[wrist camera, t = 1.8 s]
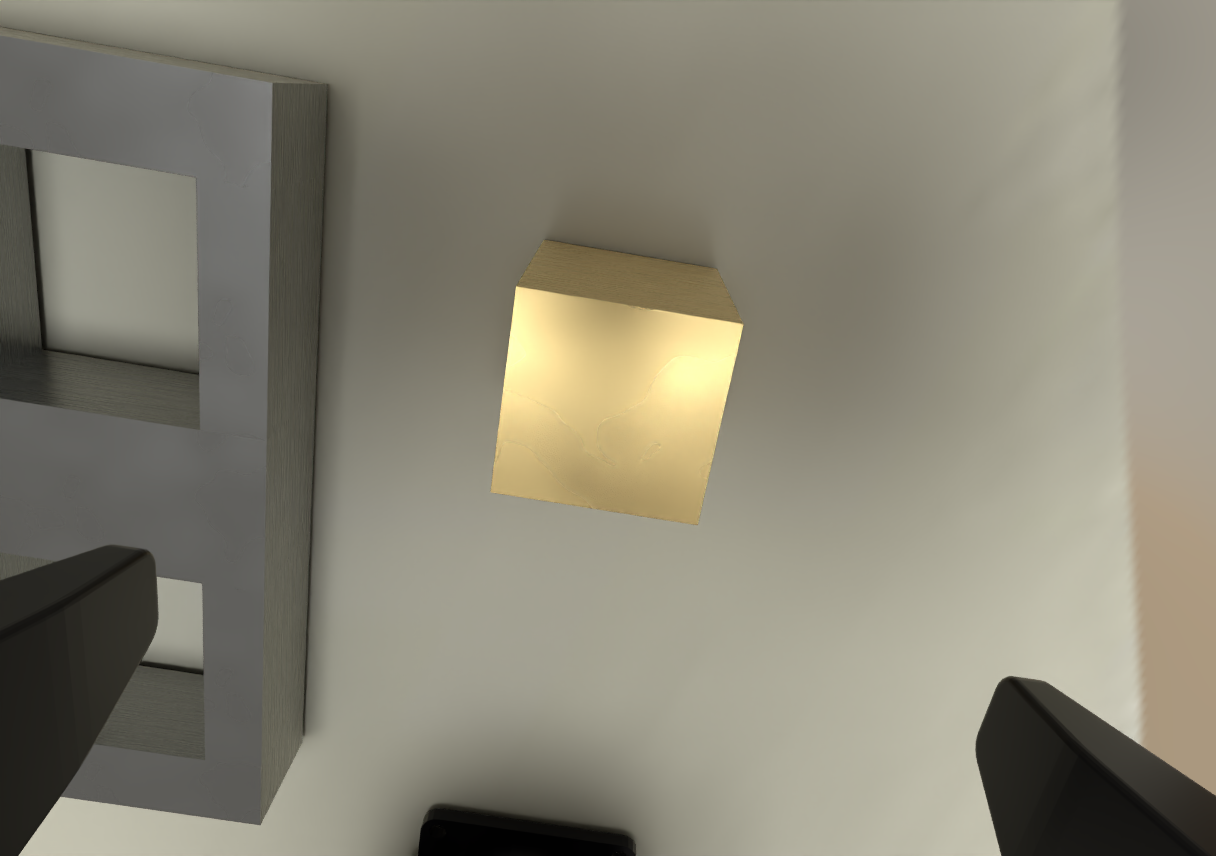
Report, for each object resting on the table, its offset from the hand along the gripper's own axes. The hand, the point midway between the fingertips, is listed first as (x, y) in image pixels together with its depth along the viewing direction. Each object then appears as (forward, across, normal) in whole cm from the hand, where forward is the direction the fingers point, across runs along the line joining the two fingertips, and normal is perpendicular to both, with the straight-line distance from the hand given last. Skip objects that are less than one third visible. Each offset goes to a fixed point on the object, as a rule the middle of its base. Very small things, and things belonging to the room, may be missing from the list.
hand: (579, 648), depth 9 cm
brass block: (+12, 0, 0) cm, 12 cm away
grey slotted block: (+12, +11, +4) cm, 17 cm away
